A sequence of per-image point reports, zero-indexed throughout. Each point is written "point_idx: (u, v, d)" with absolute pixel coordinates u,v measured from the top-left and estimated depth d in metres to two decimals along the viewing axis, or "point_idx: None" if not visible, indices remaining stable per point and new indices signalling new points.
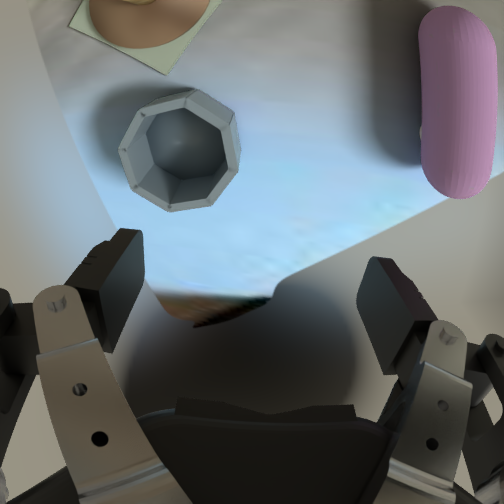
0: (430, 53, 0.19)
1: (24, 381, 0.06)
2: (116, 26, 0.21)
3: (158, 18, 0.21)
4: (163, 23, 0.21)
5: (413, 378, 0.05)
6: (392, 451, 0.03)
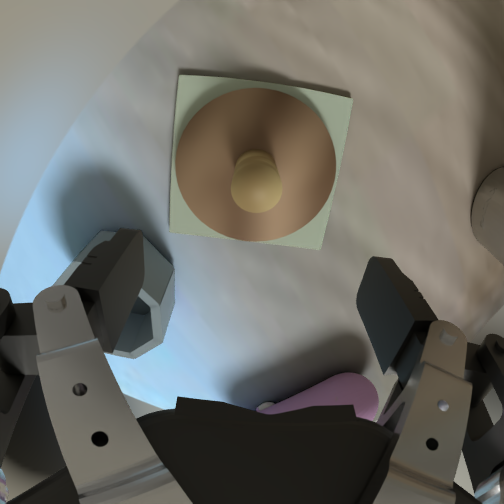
0: (322, 403, 0.31)
1: (24, 381, 0.06)
2: (197, 154, 0.22)
3: (226, 201, 0.24)
4: (223, 208, 0.24)
5: (413, 378, 0.05)
6: (392, 451, 0.03)
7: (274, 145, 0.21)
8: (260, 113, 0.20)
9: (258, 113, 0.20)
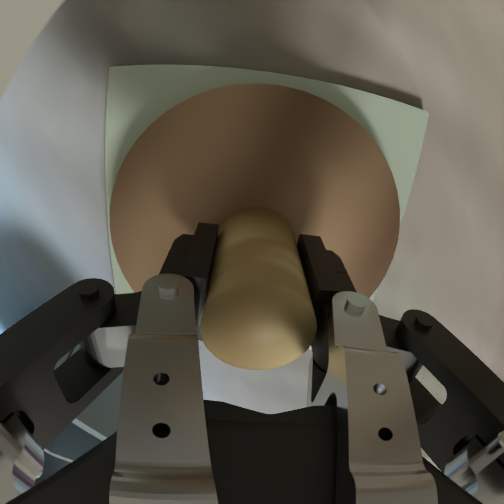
0: None
1: (104, 377, 0.07)
2: (146, 217, 0.12)
3: None
4: None
5: (334, 365, 0.06)
6: (392, 451, 0.03)
7: (291, 200, 0.11)
8: (265, 136, 0.10)
9: (260, 136, 0.10)
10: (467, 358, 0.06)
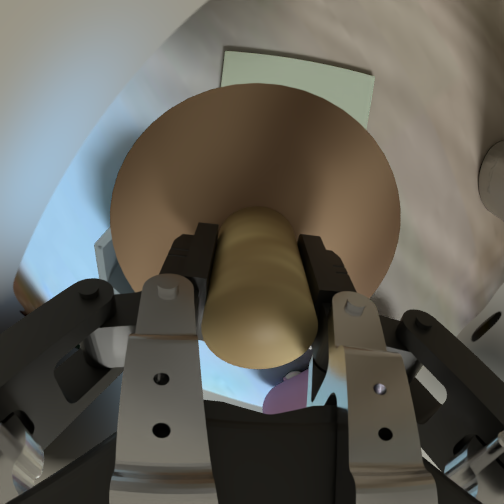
0: None
1: (104, 377, 0.07)
2: (147, 217, 0.12)
3: None
4: None
5: (334, 365, 0.06)
6: (392, 451, 0.03)
7: (291, 199, 0.11)
8: (265, 136, 0.10)
9: (261, 136, 0.10)
10: (467, 358, 0.06)
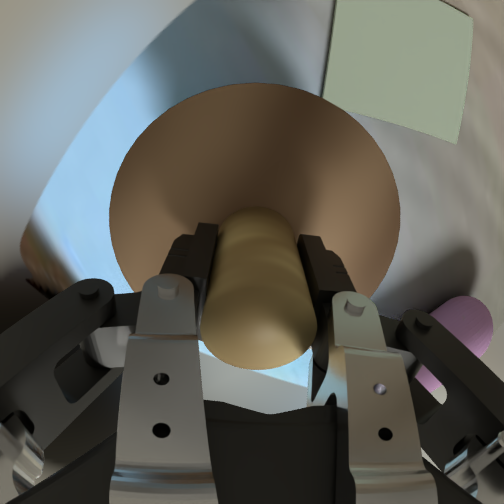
0: (449, 325, 0.26)
1: (105, 377, 0.07)
2: (146, 217, 0.12)
3: None
4: None
5: (334, 365, 0.06)
6: (392, 451, 0.03)
7: (291, 199, 0.11)
8: (265, 136, 0.10)
9: (261, 136, 0.10)
10: (467, 359, 0.06)
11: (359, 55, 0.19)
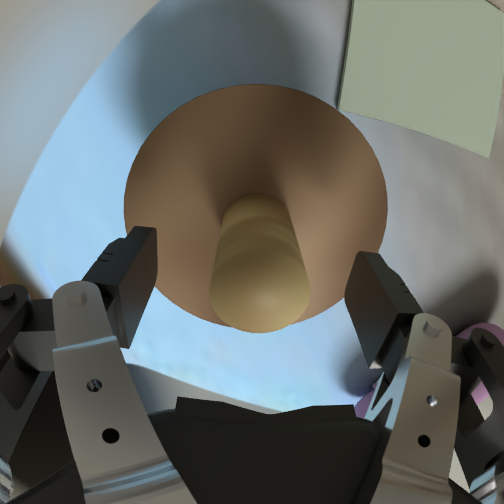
0: None
1: (38, 378, 0.06)
2: (158, 203, 0.13)
3: (209, 275, 0.15)
4: (205, 286, 0.15)
5: (399, 374, 0.06)
6: (392, 451, 0.03)
7: (288, 187, 0.13)
8: (264, 130, 0.12)
9: (261, 130, 0.12)
10: None
11: (384, 48, 0.15)
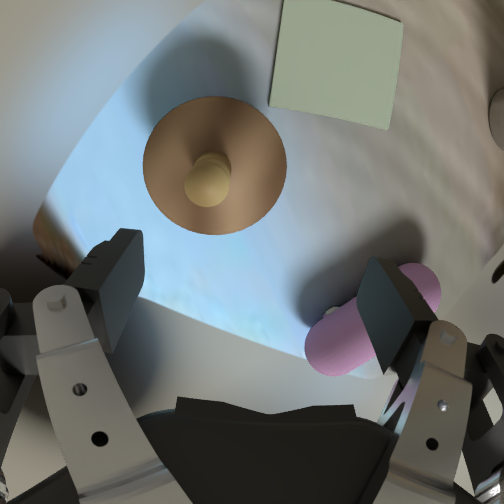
0: None
1: (24, 381, 0.06)
2: (161, 158, 0.24)
3: (188, 198, 0.26)
4: (186, 206, 0.26)
5: (413, 378, 0.05)
6: (392, 451, 0.03)
7: (228, 147, 0.24)
8: (215, 119, 0.23)
9: (213, 119, 0.23)
10: None
11: (298, 64, 0.26)
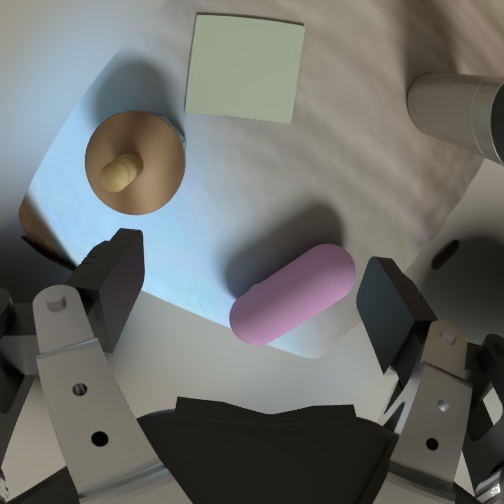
0: (304, 263, 0.40)
1: (24, 381, 0.06)
2: (96, 158, 0.31)
3: None
4: (115, 193, 0.33)
5: (413, 378, 0.05)
6: (392, 451, 0.03)
7: (140, 148, 0.31)
8: (130, 128, 0.29)
9: (129, 128, 0.29)
10: None
11: (207, 76, 0.33)
